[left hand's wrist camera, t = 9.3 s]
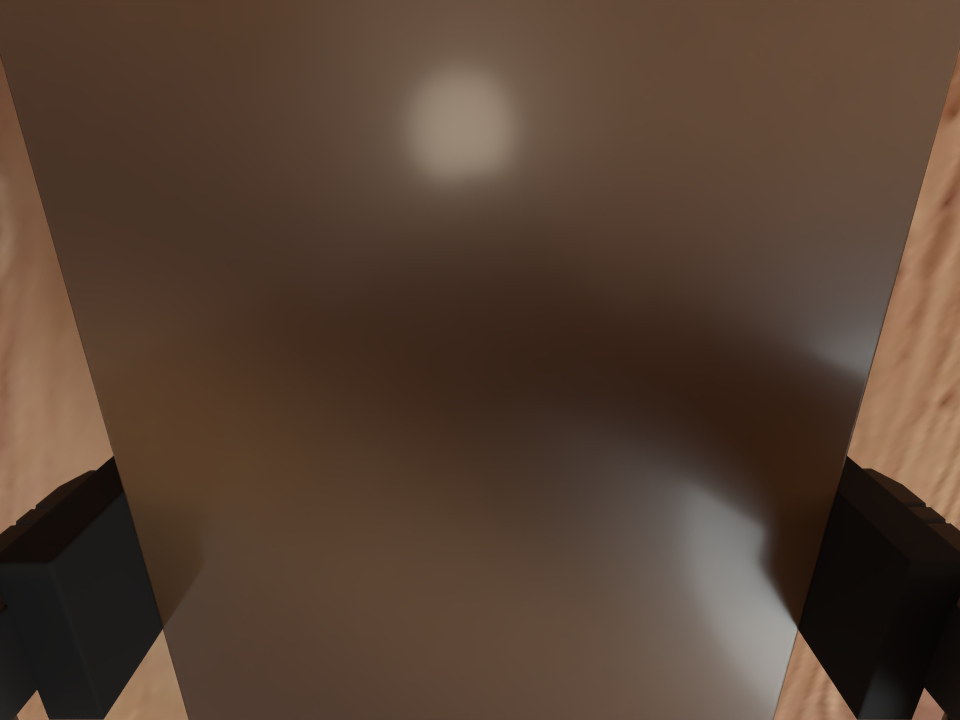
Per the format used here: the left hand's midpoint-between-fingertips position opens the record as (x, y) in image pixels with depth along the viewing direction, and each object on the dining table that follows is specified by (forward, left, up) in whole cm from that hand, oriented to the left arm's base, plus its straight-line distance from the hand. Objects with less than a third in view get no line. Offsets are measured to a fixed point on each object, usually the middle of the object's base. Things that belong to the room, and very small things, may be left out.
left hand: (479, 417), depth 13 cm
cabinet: (0, +5, -3) cm, 5 cm away
